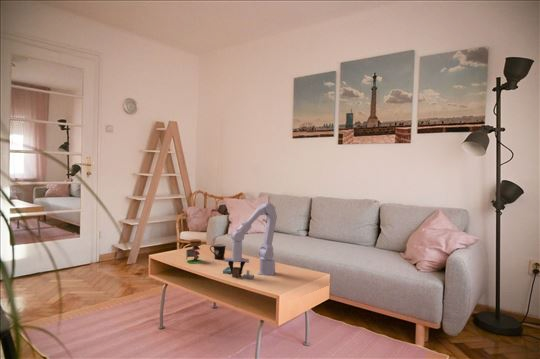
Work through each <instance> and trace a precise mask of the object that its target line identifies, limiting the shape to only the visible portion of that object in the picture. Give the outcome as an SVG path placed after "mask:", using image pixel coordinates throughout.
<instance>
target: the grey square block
mask: <svg viewBox="0 0 540 359" xmlns="http://www.w3.org/2000/svg"><path fill="white" fill-rule="evenodd" d="M254 277H255V275H254V274H250V269H249V270H248V269H247V270H246V273H244V274H243V275H241V279H244V280H245V279H246V280H253V278H254Z"/></svg>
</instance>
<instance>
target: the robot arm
mask: <svg viewBox="0 0 540 359" xmlns="http://www.w3.org/2000/svg"><path fill="white" fill-rule="evenodd" d="M276 212H277V211H276V206H275V205H273V203H270V202H266V201H265V202H264V201H263V202H260V203H259V205H258V206H257V207H256V208H255V210H254V211H253V213H252V214H251V215H250V216H249V218H248V219H247V220H245V221H243V222H241V223H240V226H239V227H238V228H236V229H235V231H233V232H231V233H232V234H231V236H230V238H231V240H232V244H231V245H232V246H231V248H232V249H231V250H232V252H231V256H232V257H224V262H225V263H227V262H228V267H230V269H231V274H230V275H232V269H233V267H234V263H239V265H240V266H239V267H240V275H241V276H242V273H243V269H244V266H245V264H246V263H248V264H249V263H250V259H249V258H243V240H244V239H245V236H246V234H248V232H249V231H250V230H251V228H252V225H253V224H254V222H256V220H258V218H259V217H260V216H263V215H264V216H265V217H266V218H267V220H266V227H265V231H264V238H263V243H262V244H261V245H260V248H259V250H258V255H259V272H258V273H257V275H262V276H274V274H275V273H276V260H275V259H273V258H274V255H275V253H274V247H273V239H274V235H275V234H274V233H275V229H276V224H277V218H278V217H277V213H276Z"/></svg>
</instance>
